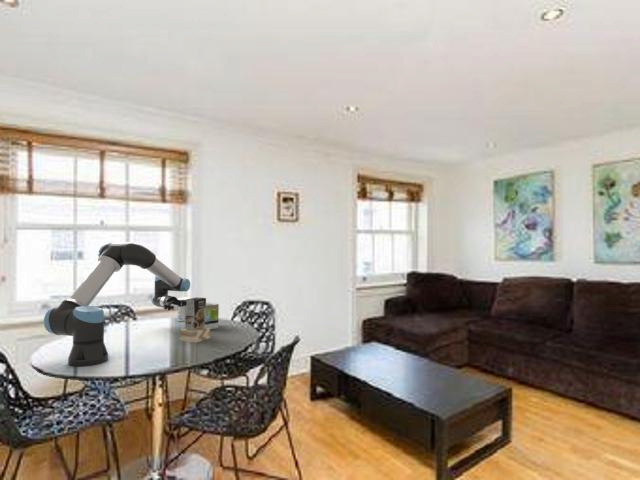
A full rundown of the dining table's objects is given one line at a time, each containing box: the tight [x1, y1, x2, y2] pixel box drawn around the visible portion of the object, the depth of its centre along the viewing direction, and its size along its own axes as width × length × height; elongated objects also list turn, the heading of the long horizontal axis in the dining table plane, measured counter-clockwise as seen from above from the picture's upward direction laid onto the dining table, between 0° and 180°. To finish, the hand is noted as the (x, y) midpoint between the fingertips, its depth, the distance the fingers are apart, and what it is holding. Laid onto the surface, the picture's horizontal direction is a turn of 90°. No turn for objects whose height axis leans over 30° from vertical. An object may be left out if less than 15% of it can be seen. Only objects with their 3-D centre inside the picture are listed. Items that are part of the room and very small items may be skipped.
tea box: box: [205, 301, 220, 330], centre depth 245 cm, size 15×10×15 cm, turn 49°
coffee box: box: [184, 297, 207, 330], centre depth 217 cm, size 9×6×16 cm
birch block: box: [179, 327, 211, 344], centre depth 216 cm, size 11×11×6 cm
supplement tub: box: [176, 297, 191, 323], centre depth 266 cm, size 10×10×15 cm
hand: (189, 306), depth 221 cm, fingers open, 13 cm apart
